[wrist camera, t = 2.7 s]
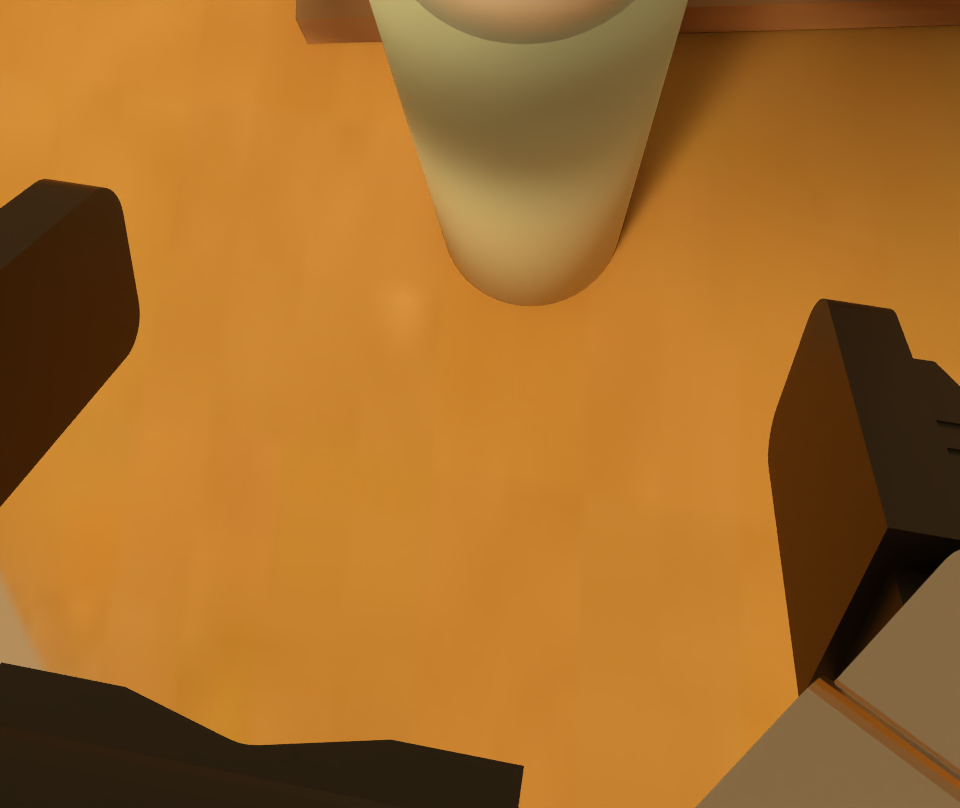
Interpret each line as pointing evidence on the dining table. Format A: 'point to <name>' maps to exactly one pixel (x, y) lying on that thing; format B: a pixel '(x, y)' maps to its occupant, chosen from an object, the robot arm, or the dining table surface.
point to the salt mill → (530, 128)
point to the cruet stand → (710, 8)
